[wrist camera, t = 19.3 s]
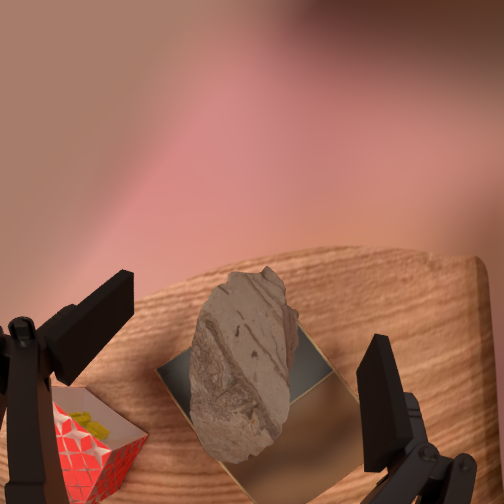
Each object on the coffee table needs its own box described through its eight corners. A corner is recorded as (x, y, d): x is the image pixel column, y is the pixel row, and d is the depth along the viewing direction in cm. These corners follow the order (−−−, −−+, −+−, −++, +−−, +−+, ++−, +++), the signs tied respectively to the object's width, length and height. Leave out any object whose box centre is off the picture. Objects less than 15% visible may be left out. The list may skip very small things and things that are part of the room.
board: (157, 370, 26) (152, 369, 24) (273, 293, 29) (274, 289, 27) (271, 517, 20) (272, 523, 18) (385, 437, 23) (391, 440, 21)
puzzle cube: (148, 434, 23) (112, 450, 16) (117, 490, 20) (78, 516, 13) (83, 387, 25) (35, 384, 17) (57, 443, 22) (9, 451, 15)
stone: (243, 265, 28) (150, 285, 21) (329, 253, 23) (241, 276, 15) (268, 409, 28) (196, 459, 21) (347, 422, 23) (283, 496, 15)
